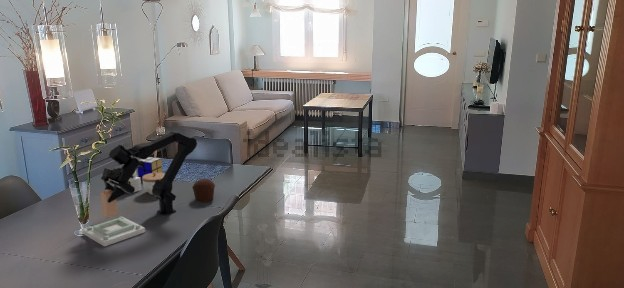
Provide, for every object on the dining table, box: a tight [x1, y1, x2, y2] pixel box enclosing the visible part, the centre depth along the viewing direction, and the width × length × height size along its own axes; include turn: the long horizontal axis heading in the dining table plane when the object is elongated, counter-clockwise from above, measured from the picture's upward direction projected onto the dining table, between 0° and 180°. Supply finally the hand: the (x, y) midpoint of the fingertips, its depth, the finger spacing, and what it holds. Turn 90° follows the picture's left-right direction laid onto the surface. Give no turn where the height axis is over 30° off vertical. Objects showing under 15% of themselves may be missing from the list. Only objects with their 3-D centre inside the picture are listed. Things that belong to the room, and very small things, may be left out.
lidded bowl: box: [141, 172, 166, 196], centre depth 248 cm, size 13×13×11 cm
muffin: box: [192, 178, 216, 203], centre depth 240 cm, size 12×11×10 cm
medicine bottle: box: [126, 170, 142, 194], centre depth 250 cm, size 7×7×12 cm
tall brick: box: [100, 189, 119, 218], centre depth 200 cm, size 4×4×11 cm
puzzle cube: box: [136, 156, 163, 179], centre depth 276 cm, size 10×10×10 cm
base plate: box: [82, 216, 146, 247], centre depth 199 cm, size 18×18×4 cm
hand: (105, 200), depth 198 cm, fingers closed on tall brick, 4 cm apart
